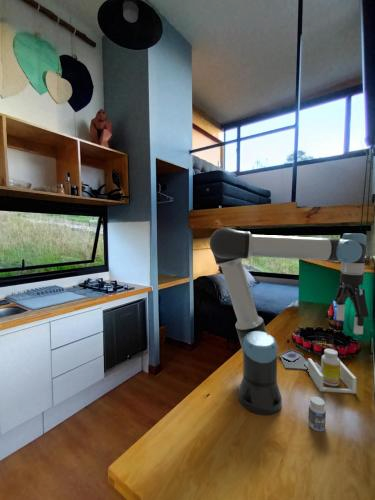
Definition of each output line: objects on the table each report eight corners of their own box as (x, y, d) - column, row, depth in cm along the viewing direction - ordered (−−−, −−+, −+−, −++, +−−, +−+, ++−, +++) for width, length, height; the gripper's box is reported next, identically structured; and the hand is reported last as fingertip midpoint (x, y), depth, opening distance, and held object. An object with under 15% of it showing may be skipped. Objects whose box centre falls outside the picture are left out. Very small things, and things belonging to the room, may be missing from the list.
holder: (319, 390, 93) (320, 376, 92) (307, 371, 105) (307, 358, 105) (355, 393, 91) (356, 378, 90) (339, 373, 104) (339, 359, 103)
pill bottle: (316, 433, 73) (317, 407, 73) (304, 421, 78) (305, 397, 77) (328, 429, 75) (329, 404, 74) (317, 418, 79) (317, 394, 78)
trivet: (285, 368, 108) (285, 367, 108) (279, 356, 118) (279, 355, 118) (311, 370, 106) (311, 369, 106) (302, 357, 117) (302, 356, 117)
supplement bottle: (342, 387, 94) (343, 356, 93) (324, 386, 95) (324, 354, 94) (335, 377, 101) (336, 348, 100) (318, 376, 102) (319, 346, 101)
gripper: (384, 280, 81) (379, 341, 82) (345, 268, 105) (342, 315, 107) (359, 279, 82) (355, 339, 83) (327, 268, 106) (324, 314, 108)
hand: (348, 326), depth 95 cm, fingers open, 13 cm apart
